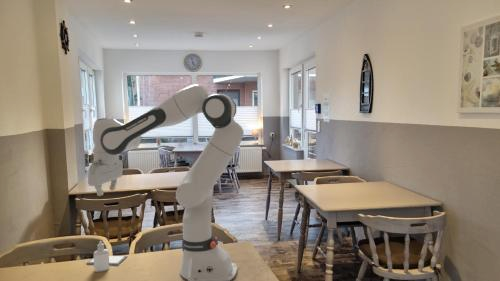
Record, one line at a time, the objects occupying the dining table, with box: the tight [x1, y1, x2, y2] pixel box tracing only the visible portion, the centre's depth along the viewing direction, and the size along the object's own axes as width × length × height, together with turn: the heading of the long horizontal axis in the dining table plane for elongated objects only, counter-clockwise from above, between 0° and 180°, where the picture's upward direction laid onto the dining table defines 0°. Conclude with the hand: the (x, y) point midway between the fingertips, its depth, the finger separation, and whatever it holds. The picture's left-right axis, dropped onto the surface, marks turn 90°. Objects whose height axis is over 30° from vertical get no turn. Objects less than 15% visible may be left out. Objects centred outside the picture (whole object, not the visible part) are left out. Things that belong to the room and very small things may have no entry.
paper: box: [89, 255, 126, 263], centre depth 147 cm, size 12×7×1 cm, turn 84°
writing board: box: [86, 255, 128, 266], centre depth 147 cm, size 14×8×1 cm, turn 84°
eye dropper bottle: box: [93, 240, 110, 273], centre depth 138 cm, size 4×6×12 cm
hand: (106, 192), depth 137 cm, fingers open, 8 cm apart
